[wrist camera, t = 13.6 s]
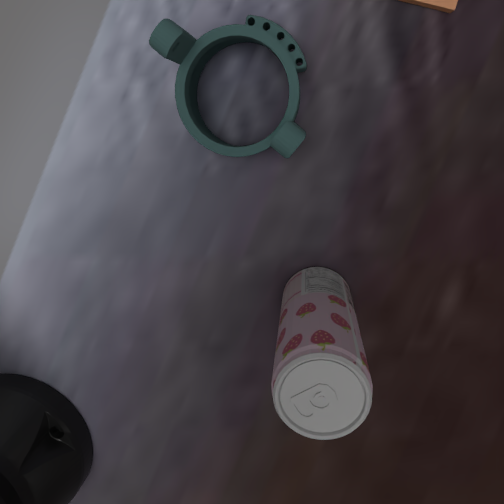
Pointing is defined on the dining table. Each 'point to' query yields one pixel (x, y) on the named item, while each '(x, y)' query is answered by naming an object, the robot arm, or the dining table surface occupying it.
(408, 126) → the dining table surface
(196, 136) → the bracket
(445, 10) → the keeper
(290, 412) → the beverage can
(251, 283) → the dining table surface
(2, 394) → the robot arm
